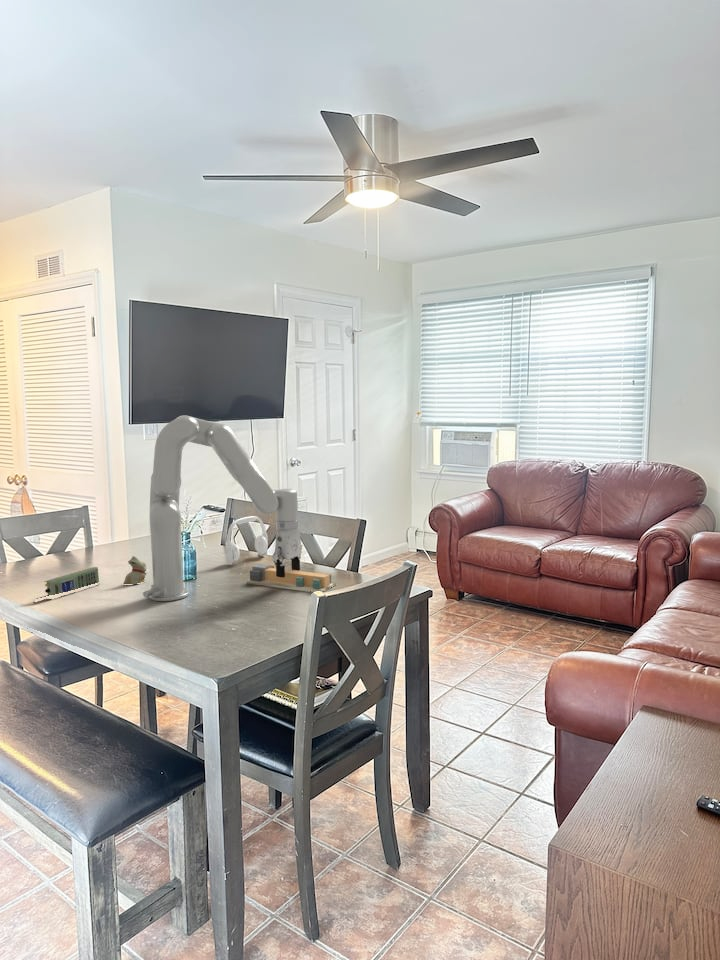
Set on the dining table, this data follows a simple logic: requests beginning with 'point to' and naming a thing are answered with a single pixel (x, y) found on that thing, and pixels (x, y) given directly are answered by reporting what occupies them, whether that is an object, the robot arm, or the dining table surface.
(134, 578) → the chocolate bunny
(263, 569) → the grey-capped wooden beam
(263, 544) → the headset
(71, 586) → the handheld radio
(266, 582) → the clip holder
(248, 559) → the dining table surface
